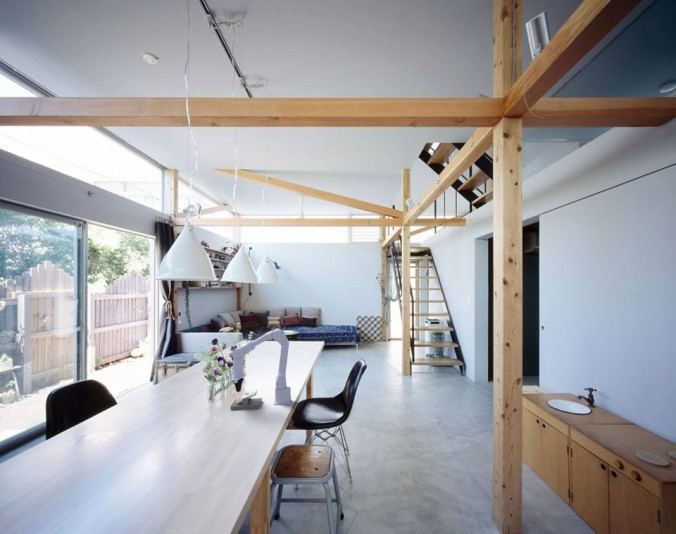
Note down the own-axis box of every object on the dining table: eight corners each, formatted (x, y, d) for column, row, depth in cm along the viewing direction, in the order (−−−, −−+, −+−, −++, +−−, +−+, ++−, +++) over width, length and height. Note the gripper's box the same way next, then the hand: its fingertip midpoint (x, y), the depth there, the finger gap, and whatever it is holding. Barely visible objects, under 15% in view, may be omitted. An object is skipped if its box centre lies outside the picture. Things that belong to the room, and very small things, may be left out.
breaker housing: (261, 401, 195) (261, 392, 195) (258, 408, 184) (258, 398, 184) (235, 402, 194) (235, 393, 194) (230, 409, 183) (230, 400, 183)
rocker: (257, 392, 193) (256, 389, 193) (255, 395, 187) (254, 393, 187) (238, 400, 192) (237, 398, 192) (236, 404, 186) (235, 401, 186)
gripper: (234, 365, 197) (234, 387, 196) (228, 372, 182) (228, 396, 182) (246, 364, 197) (246, 387, 196) (240, 371, 183) (240, 395, 182)
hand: (238, 391), depth 189 cm, fingers closed
